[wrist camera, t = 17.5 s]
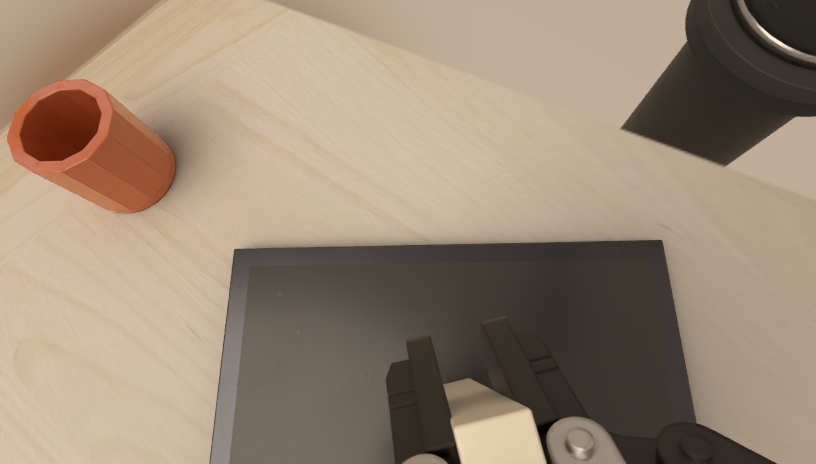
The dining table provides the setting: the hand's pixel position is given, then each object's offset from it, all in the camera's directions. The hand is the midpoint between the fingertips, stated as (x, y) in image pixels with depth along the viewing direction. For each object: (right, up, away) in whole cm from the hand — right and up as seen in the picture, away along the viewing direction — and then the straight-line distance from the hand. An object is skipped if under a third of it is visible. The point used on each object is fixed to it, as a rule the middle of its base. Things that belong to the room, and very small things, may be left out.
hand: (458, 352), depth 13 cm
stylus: (+1, -4, +8) cm, 9 cm away
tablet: (0, -5, +9) cm, 10 cm away
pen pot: (-18, +7, +14) cm, 23 cm away
